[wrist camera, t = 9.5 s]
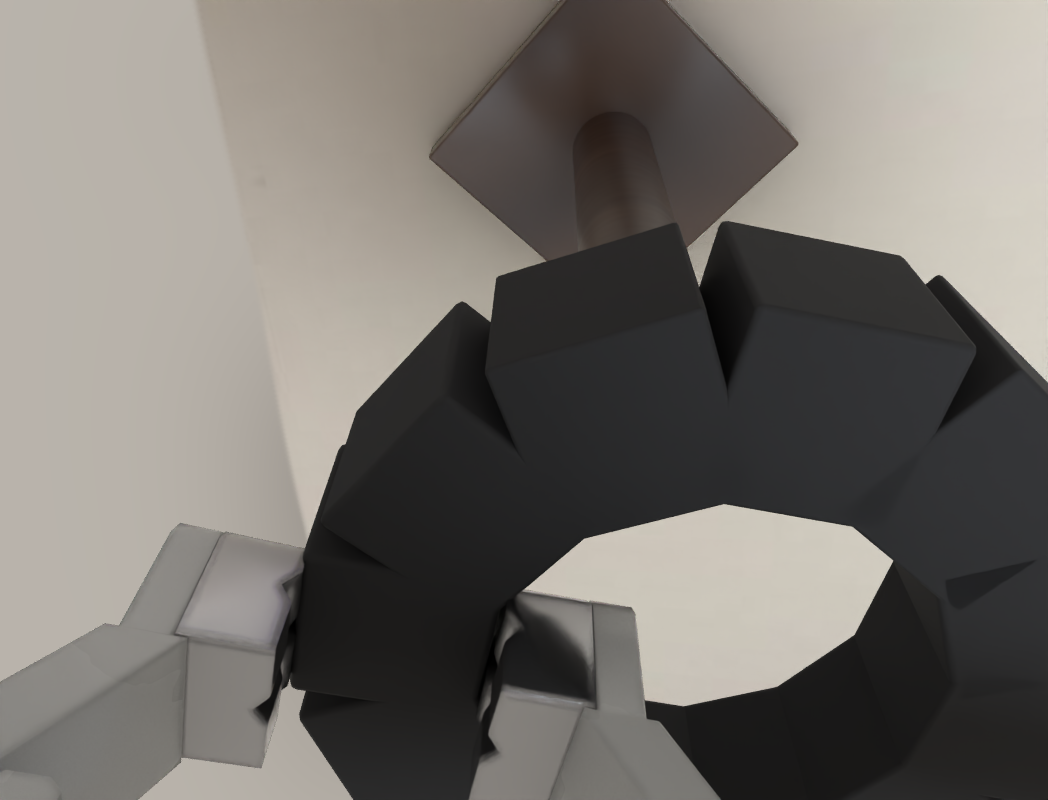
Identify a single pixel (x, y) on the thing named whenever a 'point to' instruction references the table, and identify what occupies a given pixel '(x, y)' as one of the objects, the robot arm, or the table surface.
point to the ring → (690, 485)
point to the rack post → (611, 130)
